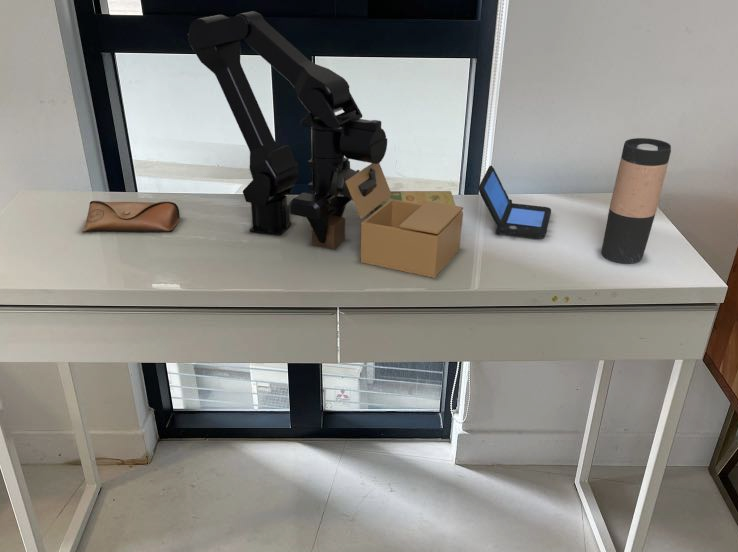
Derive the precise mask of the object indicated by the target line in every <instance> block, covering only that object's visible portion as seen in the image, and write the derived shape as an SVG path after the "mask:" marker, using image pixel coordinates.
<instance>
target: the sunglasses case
mask: <svg viewBox="0 0 738 552" xmlns="http://www.w3.org/2000/svg"><path fill="white" fill-rule="evenodd" d="M180 218H181V217H180V209H179V206H178V204H177V203H176V202H173V201H158V202H157V201H156V202H149V201H147V202H146V201H142V202H141V201H102V200H101V201H100V200H91V201H89V206H88V212H87V216H86V221H85V225H84V227H83V229H82V230H81V232H83V233H84V232H85V233H86V232H88V233H89V232H121V233H159V232H170V231H171V232H172V231H173V230H174V229H175V228H176V227H177V226H178V224H179V222H180Z"/></svg>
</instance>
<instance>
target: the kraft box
mask: <svg viewBox="0 0 738 552" xmlns="http://www.w3.org/2000/svg"><path fill="white" fill-rule="evenodd" d="M463 210H464V207H463V206H459V205H455V206H454V205H448V204H442V203H436V202H430V201H427V202H425V203H424V204H417V203H411V202H406V201H400V200H394V199H391V200H389V201H388V202H387V203H386V204H384V205H383V206H382V207H381V208H379V209H378V210H377V211H375V212H374V213H373V212H372V214H370V215H369V216H367V217H366V218H365V219H364V220H363V221H361V225H360V226H361V228H360V229H361V232H360V263H361V264H367V265H371V266H376V267H380V268H386V269H391V270H395V271H399V272H403V273H409V274H414V275H418V276H424V277H429V278H433V279H435V278H436V277H437V276H438V275H439V274H440V273H441V271H442V270H444V268H445V267H446V266H447V265H448V264H449V263H450V261H451V260H452V259H453V258H454V257H456V255H457V253H459V251H460V247H461V246H460V245H461V239H462V238H461V236H462V226H463V219H464V211H463Z"/></svg>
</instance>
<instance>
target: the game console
mask: <svg viewBox="0 0 738 552" xmlns="http://www.w3.org/2000/svg"><path fill="white" fill-rule="evenodd" d="M480 181H481V182H480V183H479V185H478V192H479V194H480V197H481V199H482V200H483V202H484V205H485V206H486V208H487V210H488V212H489V214H490V216H491V218H492V220H493V222H494V224H495V225H496V229H495V234H496V235H503V236H510V237H518V238H527V239H535V240H542V239H544V238H545V237H546V235H547V231H548V227H549V224H550V218H551V214H552V209H551V207H548V206H541V205H533V204H532V205H531V204H523V203H514V202H513V200H512V199H511V198H509V196H508V194H507V192H506V190H505V188H504V186H503V183H502V181H501V179H500V178H499V176H498V174H497V172H496V169H495V168H494V167H493V166H492V165H489V166H488V168H487V169H486V172H485V174H484V175H483V177H482V179H481V180H480Z"/></svg>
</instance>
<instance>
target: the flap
mask: <svg viewBox="0 0 738 552" xmlns="http://www.w3.org/2000/svg"><path fill="white" fill-rule="evenodd" d="M380 163H381V162H380ZM380 163H378V164H373V163H369V165H367V166H365V167H364V168H362V169H361V170H360V171H359V172H358V173H357V174H355V175H354V176H352V177H351V178H349V179H347V180H346V181H345V182H346V185H347V187H348V190H349V192H350V194H351V197H352V199H353V200H352V202H353V205H354V207H355V209H356V211H357V214H358V216H359V219H360V220H361V219H363V218H365V217H366V216H367V215H369V214H370V213H371V212H372V211H373V209H375V208H376V207H377V206H379V205H380V204H381V203H382V202H384V201H385V200H386V199H388V198H389V197H390V196H391V195H392V194H391V192H390V191H391V189H390V187H389V184H388V181H387V179H386V176H385V174H384V171H383V168H382V166H381V164H380ZM370 168H372V169H374V170H375V176H376V180H377V181H376V184H377V186H376V187H375V188H374V189H373V191H372V192H371V193H369V194H368V195H367V196H365V197H364V196H363V195H362V194H361V192H360V190H359V188H358V186H359V185H360V184H361V183H363V182H364V181H366V180H367V179H369V173H370V172H371V170H370Z"/></svg>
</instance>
